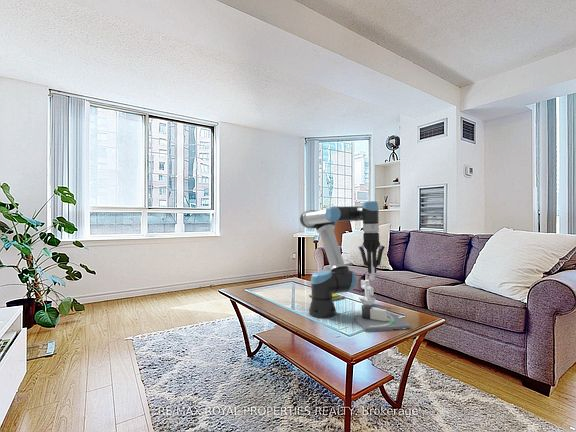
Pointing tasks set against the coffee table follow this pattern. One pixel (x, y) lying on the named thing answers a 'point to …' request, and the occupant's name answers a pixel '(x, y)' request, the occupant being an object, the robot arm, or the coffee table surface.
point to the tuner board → (381, 323)
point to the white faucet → (367, 293)
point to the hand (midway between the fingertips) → (372, 279)
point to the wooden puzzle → (334, 296)
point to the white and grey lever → (374, 313)
